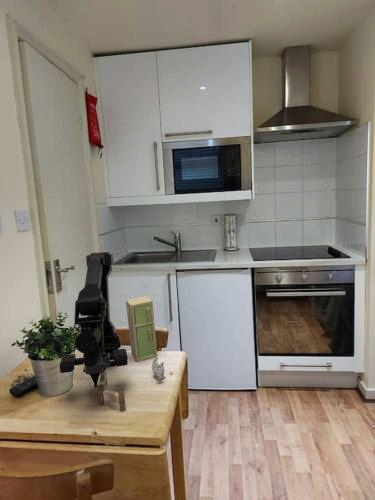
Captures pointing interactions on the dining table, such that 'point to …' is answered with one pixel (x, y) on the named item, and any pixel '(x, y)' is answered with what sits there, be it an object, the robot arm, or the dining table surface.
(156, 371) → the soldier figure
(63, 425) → the dining table surface
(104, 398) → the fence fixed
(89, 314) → the robot arm
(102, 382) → the fence gate
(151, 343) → the toy refrigerator
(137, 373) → the dining table surface
